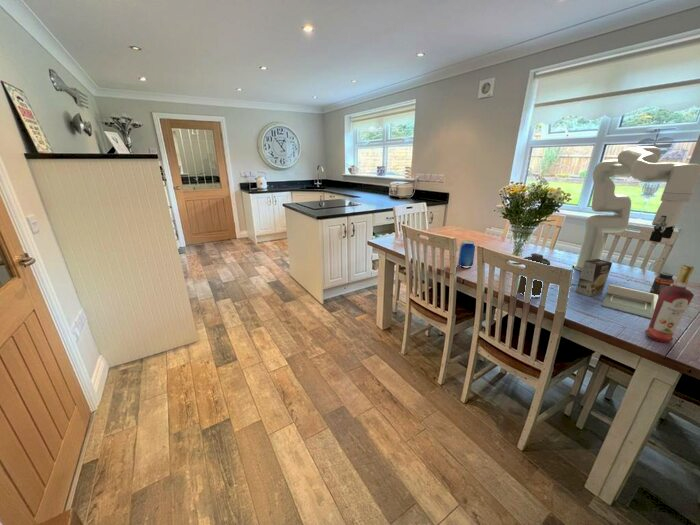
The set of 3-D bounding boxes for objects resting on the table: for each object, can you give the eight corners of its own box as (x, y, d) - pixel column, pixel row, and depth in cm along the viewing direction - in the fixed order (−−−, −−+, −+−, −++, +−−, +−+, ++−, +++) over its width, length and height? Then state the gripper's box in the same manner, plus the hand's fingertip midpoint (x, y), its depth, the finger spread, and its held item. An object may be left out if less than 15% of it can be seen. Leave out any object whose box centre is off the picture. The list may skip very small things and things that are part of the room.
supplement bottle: (671, 299, 125) (681, 276, 121) (655, 298, 126) (664, 276, 122) (660, 293, 130) (669, 271, 126) (645, 292, 131) (653, 271, 127)
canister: (512, 291, 137) (519, 253, 130) (526, 287, 141) (534, 250, 134) (533, 300, 128) (542, 260, 121) (548, 295, 132) (557, 256, 125)
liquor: (650, 342, 97) (680, 269, 88) (638, 330, 104) (665, 261, 94) (677, 346, 95) (712, 271, 85) (664, 334, 101) (694, 263, 91)
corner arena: (606, 292, 133) (609, 284, 131) (654, 303, 122) (658, 294, 120) (601, 306, 121) (604, 297, 120) (653, 319, 110) (658, 310, 109)
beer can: (459, 268, 167) (462, 243, 162) (456, 264, 175) (459, 239, 169) (474, 269, 166) (477, 244, 160) (470, 264, 173) (473, 240, 168)
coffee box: (589, 296, 129) (599, 265, 124) (575, 291, 135) (583, 260, 129) (602, 293, 132) (612, 262, 126) (588, 288, 138) (597, 258, 132)
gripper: (670, 194, 113) (656, 234, 119) (652, 198, 106) (638, 240, 112) (698, 196, 107) (681, 238, 113) (681, 200, 100) (663, 245, 106)
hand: (659, 239), depth 113 cm, fingers open, 9 cm apart
